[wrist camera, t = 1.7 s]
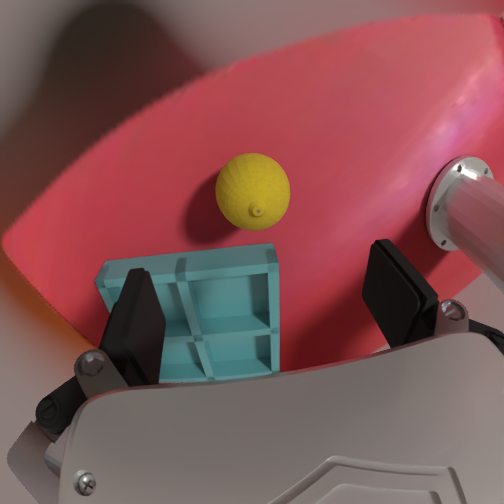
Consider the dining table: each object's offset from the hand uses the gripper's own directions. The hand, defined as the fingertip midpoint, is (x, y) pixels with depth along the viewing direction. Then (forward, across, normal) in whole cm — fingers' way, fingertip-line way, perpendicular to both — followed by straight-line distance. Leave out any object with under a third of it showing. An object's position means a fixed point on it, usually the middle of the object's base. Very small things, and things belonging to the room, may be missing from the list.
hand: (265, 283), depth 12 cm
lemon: (+15, -1, 0) cm, 15 cm away
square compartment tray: (+15, +6, +16) cm, 23 cm away
